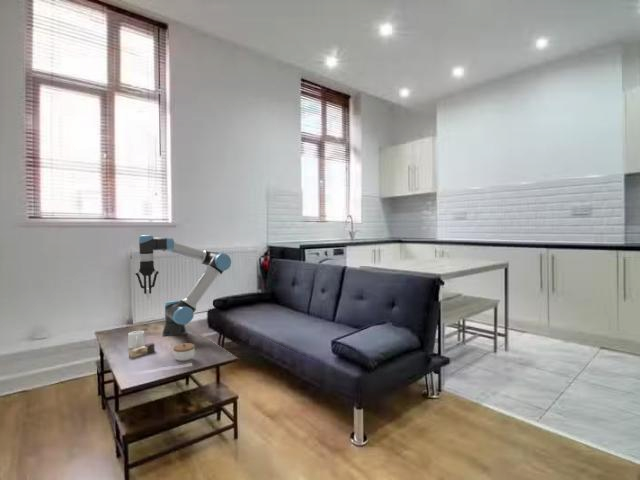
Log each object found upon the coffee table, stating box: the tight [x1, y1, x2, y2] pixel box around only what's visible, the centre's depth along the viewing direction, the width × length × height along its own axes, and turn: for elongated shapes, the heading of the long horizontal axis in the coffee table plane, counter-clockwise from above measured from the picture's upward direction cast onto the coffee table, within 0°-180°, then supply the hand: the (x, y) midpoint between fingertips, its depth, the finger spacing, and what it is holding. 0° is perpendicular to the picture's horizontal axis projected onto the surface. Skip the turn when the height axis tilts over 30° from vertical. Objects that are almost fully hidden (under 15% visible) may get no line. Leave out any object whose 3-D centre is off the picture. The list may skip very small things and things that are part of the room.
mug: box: [127, 330, 145, 350], centre depth 201 cm, size 8×12×10 cm
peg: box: [128, 342, 155, 359], centre depth 190 cm, size 14×5×4 cm, turn 148°
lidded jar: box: [173, 342, 196, 362], centre depth 186 cm, size 11×11×9 cm
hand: (147, 298), depth 208 cm, fingers closed
